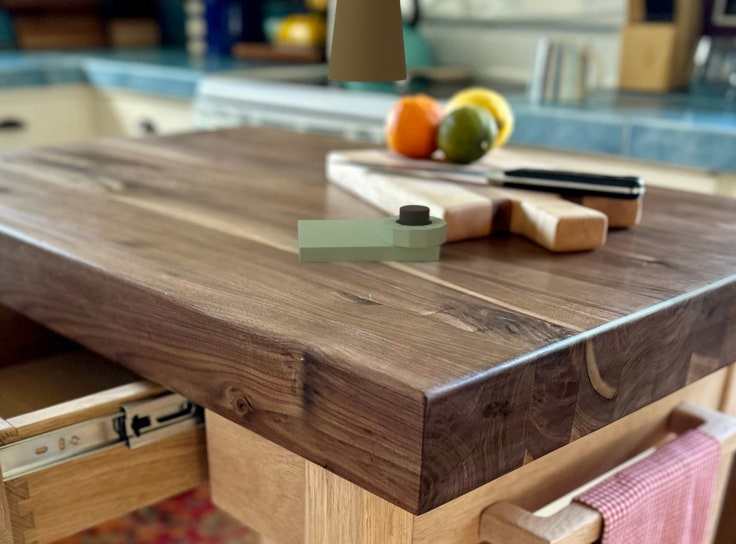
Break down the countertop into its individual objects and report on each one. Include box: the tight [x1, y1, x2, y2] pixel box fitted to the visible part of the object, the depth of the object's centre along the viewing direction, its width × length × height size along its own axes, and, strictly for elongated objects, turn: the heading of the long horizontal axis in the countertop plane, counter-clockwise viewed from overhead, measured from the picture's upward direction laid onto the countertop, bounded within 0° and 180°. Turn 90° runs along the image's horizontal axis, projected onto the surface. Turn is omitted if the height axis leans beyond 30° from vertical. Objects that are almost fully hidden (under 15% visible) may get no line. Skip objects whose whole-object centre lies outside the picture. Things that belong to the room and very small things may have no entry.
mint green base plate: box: [297, 214, 448, 263], centre depth 78 cm, size 13×11×3 cm
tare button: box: [398, 204, 431, 226], centre depth 75 cm, size 3×3×2 cm
